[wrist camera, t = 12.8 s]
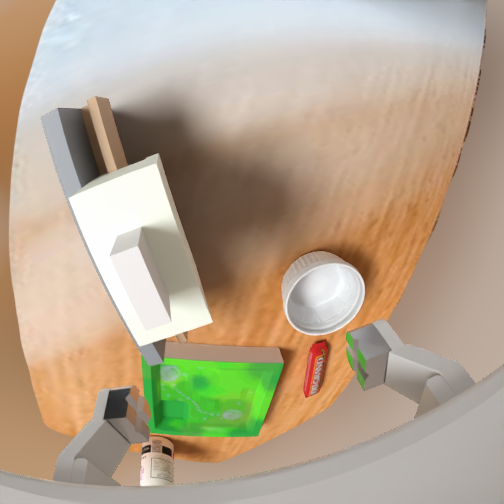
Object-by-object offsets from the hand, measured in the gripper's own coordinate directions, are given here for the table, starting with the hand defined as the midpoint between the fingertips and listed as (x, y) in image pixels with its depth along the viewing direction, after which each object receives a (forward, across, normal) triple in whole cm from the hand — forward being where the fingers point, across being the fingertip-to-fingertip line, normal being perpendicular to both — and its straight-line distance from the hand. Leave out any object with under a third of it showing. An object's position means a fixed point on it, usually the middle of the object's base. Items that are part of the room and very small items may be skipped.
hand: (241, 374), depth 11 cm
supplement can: (+34, +33, +59) cm, 75 cm away
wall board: (+35, +12, +1) cm, 37 cm away
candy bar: (+35, -10, +43) cm, 56 cm away
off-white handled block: (+25, +8, +1) cm, 26 cm away
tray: (+35, +13, +40) cm, 55 cm away
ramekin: (+35, -12, +21) cm, 43 cm away
